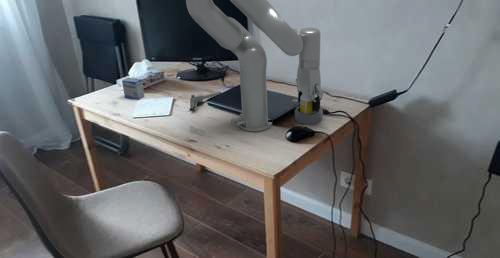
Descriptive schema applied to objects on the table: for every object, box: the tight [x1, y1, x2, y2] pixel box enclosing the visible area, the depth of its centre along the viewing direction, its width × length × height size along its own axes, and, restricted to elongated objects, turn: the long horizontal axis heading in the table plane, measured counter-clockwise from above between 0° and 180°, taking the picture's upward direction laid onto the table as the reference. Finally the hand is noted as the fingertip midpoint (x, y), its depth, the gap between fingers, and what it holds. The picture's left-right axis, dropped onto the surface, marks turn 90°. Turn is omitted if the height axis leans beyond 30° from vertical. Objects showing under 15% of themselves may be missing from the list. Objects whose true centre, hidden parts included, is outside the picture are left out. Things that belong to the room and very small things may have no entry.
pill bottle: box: [299, 92, 317, 114], centre depth 160 cm, size 6×6×11 cm
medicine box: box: [121, 77, 145, 101], centre depth 190 cm, size 8×4×9 cm, turn 68°
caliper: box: [189, 91, 223, 110], centre depth 183 cm, size 20×1×6 cm, turn 145°
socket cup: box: [294, 105, 324, 125], centre depth 162 cm, size 10×10×4 cm
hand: (308, 106), depth 161 cm, fingers open, 9 cm apart
